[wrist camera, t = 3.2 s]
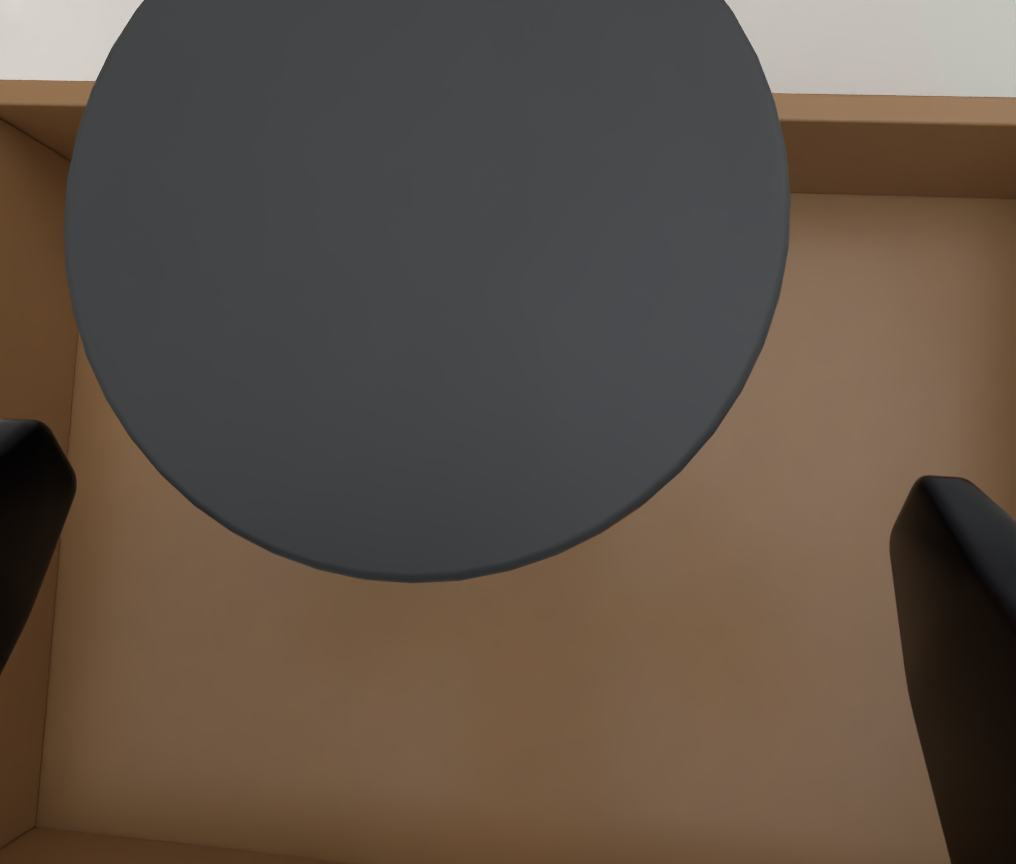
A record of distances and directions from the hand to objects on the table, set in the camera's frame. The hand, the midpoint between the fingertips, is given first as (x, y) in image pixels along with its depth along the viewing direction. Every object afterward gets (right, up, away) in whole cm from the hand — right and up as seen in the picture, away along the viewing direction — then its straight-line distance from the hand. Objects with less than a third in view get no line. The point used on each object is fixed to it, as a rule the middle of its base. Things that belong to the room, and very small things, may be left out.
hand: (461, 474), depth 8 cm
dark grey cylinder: (+1, +1, +9) cm, 9 cm away
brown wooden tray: (+1, -2, +9) cm, 9 cm away
